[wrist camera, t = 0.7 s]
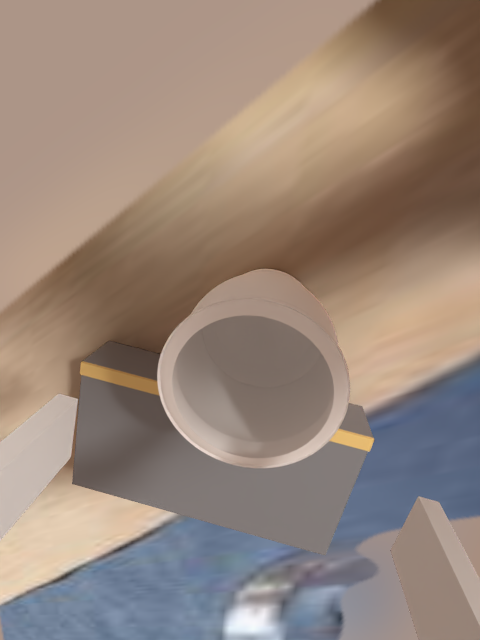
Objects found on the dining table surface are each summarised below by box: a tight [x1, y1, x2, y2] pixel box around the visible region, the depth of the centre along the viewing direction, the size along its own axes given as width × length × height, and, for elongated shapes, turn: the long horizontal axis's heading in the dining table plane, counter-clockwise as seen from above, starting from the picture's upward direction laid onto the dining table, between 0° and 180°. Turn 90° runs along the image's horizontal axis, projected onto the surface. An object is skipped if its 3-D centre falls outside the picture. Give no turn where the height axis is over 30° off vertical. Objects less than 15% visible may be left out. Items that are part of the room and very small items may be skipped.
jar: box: [157, 269, 350, 468], centre depth 27 cm, size 11×10×15 cm
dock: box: [72, 341, 374, 555], centre depth 36 cm, size 26×14×5 cm, turn 77°
